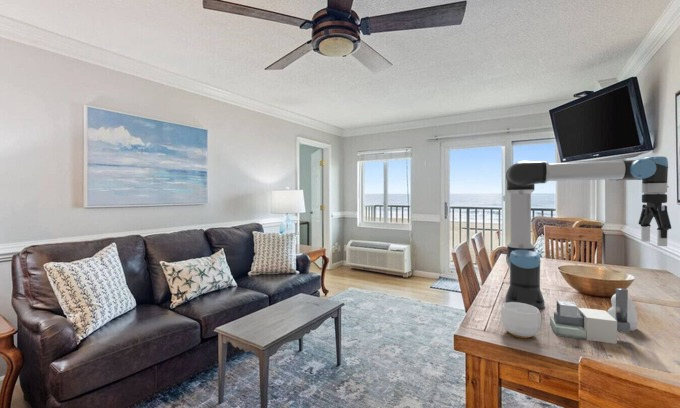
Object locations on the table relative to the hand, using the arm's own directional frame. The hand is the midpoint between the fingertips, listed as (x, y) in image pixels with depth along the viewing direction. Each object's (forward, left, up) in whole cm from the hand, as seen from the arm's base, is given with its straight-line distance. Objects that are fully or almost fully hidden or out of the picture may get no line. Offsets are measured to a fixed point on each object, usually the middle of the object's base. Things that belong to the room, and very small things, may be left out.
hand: (653, 243), depth 131 cm
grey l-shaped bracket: (-33, -40, -25) cm, 57 cm away
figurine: (-19, -27, -28) cm, 43 cm away
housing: (-31, -40, -28) cm, 58 cm away
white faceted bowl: (-55, -49, -28) cm, 79 cm away
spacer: (-39, -40, -22) cm, 60 cm away
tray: (-39, -40, -28) cm, 63 cm away
